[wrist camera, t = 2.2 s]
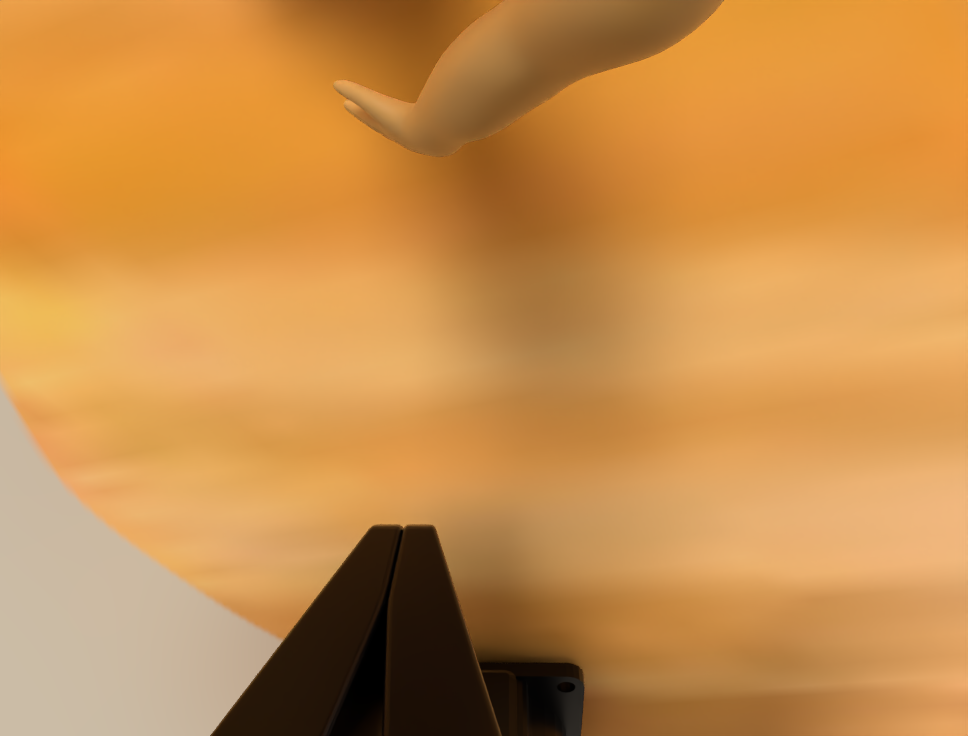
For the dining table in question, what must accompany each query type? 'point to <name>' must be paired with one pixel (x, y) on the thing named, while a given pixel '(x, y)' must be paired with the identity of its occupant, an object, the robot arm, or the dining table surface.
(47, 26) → the dining table surface
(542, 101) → the figurine
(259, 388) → the dining table surface
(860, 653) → the dining table surface
